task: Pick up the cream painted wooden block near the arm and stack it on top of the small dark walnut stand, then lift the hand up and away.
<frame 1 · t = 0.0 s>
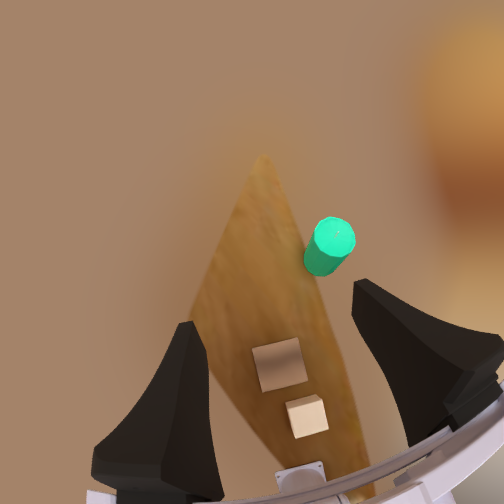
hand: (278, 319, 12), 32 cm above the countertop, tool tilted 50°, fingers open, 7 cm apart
block: (303, 411, 38), on the countertop
stand: (279, 364, 41), on the countertop
candle: (320, 260, 46), on the countertop
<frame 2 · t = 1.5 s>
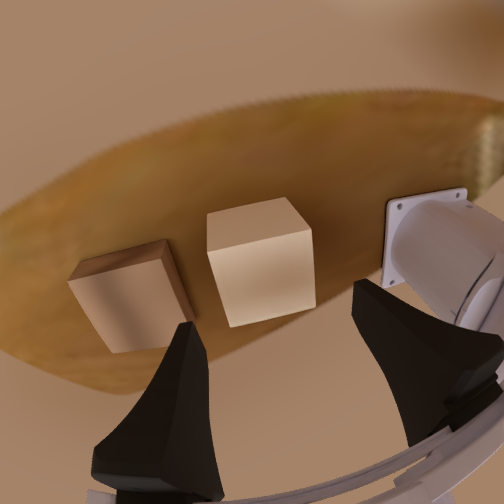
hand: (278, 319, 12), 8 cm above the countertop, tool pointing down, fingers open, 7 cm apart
block: (252, 239, 18), on the countertop
stand: (137, 291, 19), on the countertop
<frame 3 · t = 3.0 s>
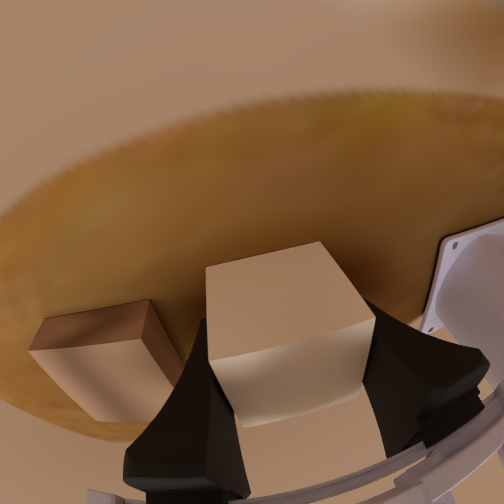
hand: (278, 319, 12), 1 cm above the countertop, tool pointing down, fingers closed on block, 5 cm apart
block: (271, 298, 13), on the countertop, touching gripper
stand: (119, 356, 14), on the countertop
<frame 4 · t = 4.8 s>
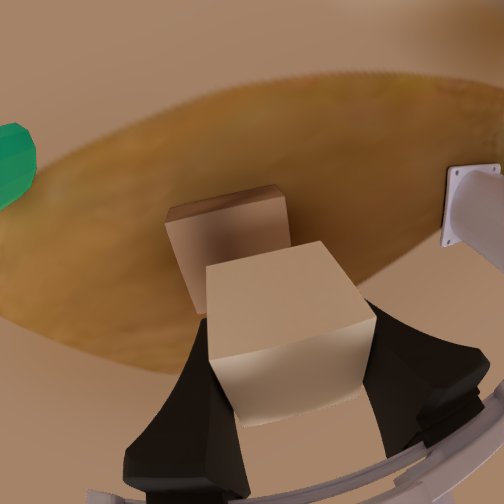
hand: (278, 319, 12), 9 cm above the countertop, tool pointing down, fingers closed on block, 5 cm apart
block: (271, 298, 13), point 7 cm above the countertop, touching gripper
stand: (233, 242, 19), on the countertop
candle: (11, 161, 13), on the countertop
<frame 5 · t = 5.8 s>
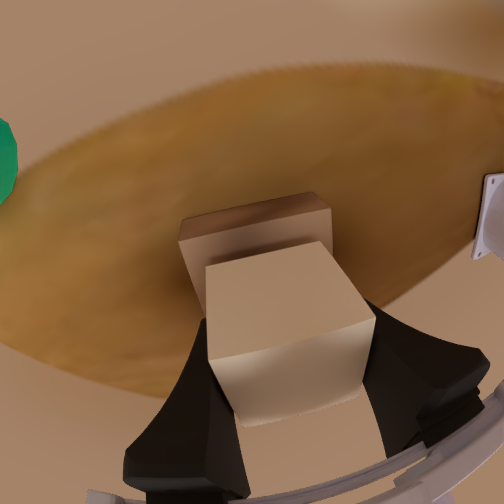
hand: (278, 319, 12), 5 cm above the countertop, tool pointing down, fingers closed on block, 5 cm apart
block: (271, 298, 13), point 3 cm above the countertop, touching gripper
stand: (259, 261, 16), on the countertop
when the fingers open (5 cm above the countertop, at t = 6.5 s): block stays where it is, resting on stand.
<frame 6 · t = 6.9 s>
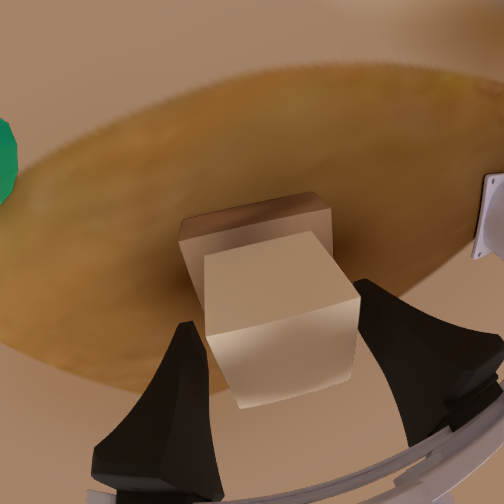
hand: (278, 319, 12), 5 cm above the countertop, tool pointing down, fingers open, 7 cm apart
block: (266, 286, 14), point 2 cm above the countertop, touching stand
stand: (259, 261, 16), on the countertop
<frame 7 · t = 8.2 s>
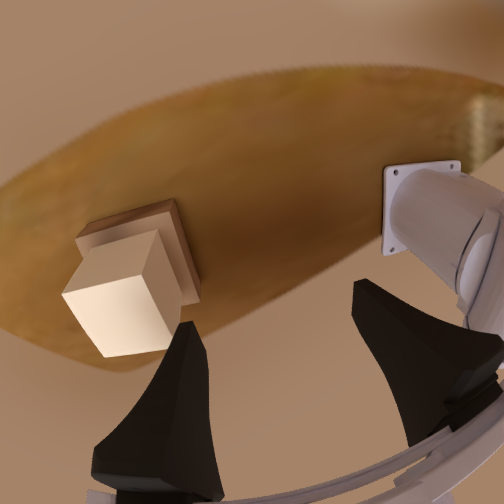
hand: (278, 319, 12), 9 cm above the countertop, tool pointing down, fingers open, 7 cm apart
block: (136, 271, 17), point 2 cm above the countertop, touching stand
stand: (143, 253, 19), on the countertop
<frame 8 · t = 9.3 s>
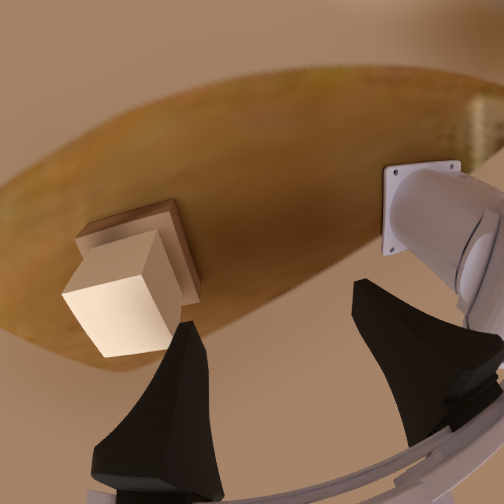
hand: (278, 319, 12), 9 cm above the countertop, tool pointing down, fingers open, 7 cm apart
block: (136, 271, 17), point 2 cm above the countertop, touching stand
stand: (143, 253, 19), on the countertop
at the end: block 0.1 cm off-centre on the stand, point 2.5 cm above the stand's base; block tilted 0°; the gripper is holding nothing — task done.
